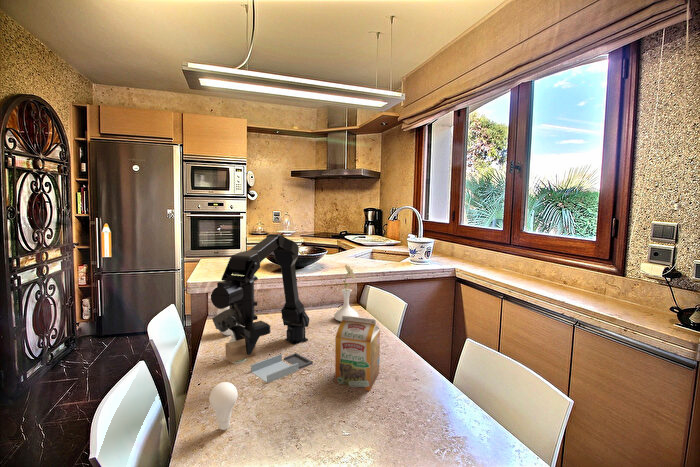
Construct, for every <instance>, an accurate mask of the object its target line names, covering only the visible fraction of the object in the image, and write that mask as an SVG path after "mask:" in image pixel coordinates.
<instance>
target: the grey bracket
mask: <svg viewBox="0 0 700 467" xmlns="http://www.w3.org/2000/svg"><path fill="white" fill-rule="evenodd" d="M298 371H299V368H298V363H296V364H289V363H287V362H286V361H283V354H282V353H280V354H277V355H273V356H272V357H269V358H266V359H263V360H261V361H258V362H255V363H252V364H251V365H250V372H251V373H252V374H253V375H255V376H257V377H258V378H260V379H261V380H262V381H264V382H266V383H267V384H269V383H272V382H273V381H276V380H279V379H282V378H283V377H286V376H288V375H290V374H293V373H295V372H298Z"/></svg>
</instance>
